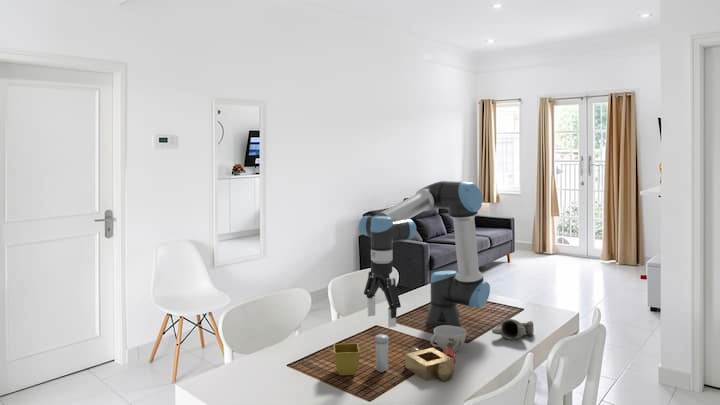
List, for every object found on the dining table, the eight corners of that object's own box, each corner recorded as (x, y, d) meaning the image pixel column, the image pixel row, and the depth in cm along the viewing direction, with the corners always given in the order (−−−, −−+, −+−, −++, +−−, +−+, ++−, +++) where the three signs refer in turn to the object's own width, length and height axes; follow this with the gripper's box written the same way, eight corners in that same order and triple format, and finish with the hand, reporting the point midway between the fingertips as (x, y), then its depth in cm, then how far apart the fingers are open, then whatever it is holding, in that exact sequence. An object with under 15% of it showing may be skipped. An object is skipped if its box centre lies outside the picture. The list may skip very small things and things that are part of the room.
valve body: (399, 363, 187) (399, 347, 186) (433, 355, 194) (433, 339, 194) (433, 385, 170) (433, 367, 169) (468, 374, 177) (469, 358, 177)
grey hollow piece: (504, 352, 217) (498, 344, 205) (494, 333, 222) (487, 324, 210) (540, 334, 215) (535, 326, 202) (528, 316, 220) (524, 306, 208)
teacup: (454, 341, 208) (454, 322, 207) (473, 352, 196) (473, 332, 196) (422, 347, 202) (422, 328, 201) (439, 359, 190) (439, 338, 190)
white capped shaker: (372, 368, 183) (372, 335, 182) (384, 365, 185) (383, 333, 184) (379, 373, 179) (379, 340, 178) (391, 370, 181) (391, 337, 180)
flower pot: (333, 367, 184) (333, 343, 183) (358, 366, 184) (357, 342, 184) (334, 378, 175) (334, 353, 174) (360, 377, 176) (360, 352, 175)
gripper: (354, 256, 187) (354, 312, 189) (392, 269, 165) (391, 333, 168) (372, 254, 191) (372, 309, 193) (411, 266, 169) (410, 329, 171)
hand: (381, 321), depth 180 cm, fingers open, 13 cm apart
